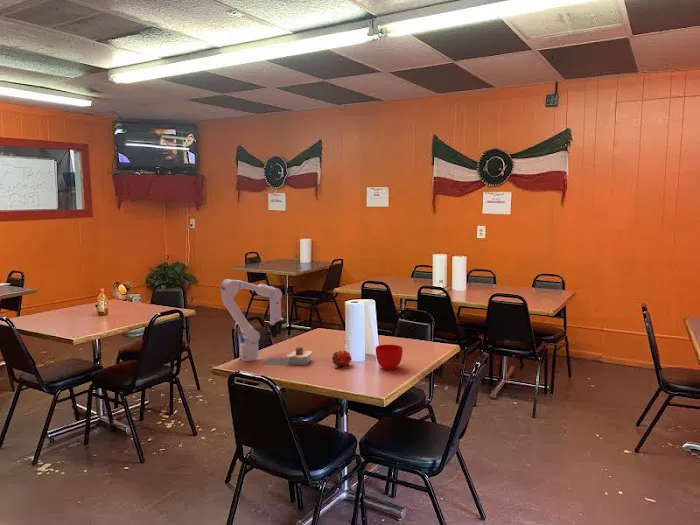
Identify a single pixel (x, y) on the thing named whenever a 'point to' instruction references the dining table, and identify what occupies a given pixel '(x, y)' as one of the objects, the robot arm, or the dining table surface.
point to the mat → (276, 361)
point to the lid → (299, 353)
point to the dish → (299, 361)
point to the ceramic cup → (389, 356)
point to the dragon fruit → (341, 358)
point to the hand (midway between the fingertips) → (276, 335)
